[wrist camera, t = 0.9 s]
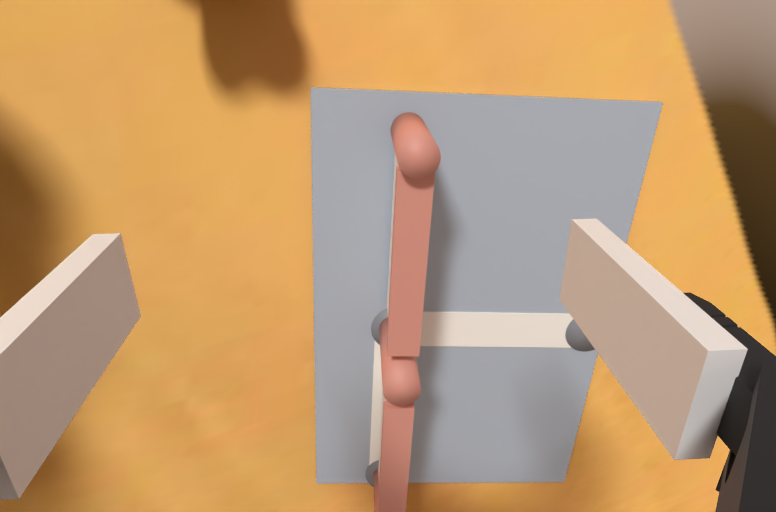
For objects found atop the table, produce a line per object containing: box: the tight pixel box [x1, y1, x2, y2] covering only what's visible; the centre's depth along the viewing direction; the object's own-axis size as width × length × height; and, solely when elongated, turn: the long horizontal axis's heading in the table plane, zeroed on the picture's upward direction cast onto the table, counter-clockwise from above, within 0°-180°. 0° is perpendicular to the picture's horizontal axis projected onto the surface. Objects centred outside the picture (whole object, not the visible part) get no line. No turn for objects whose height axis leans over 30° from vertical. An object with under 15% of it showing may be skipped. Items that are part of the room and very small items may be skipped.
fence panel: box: [386, 112, 441, 356], centre depth 32 cm, size 14×2×7 cm, turn 177°
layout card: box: [311, 87, 663, 486], centre depth 40 cm, size 23×34×1 cm
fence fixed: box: [374, 317, 421, 512], centre depth 39 cm, size 2×17×8 cm, turn 177°
